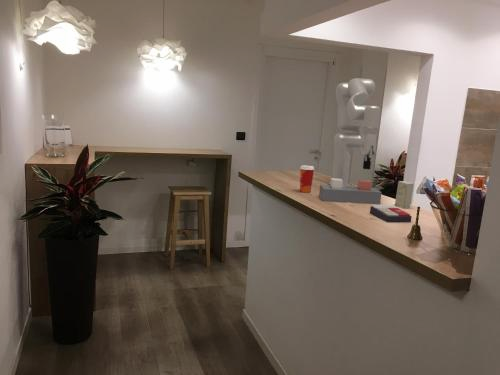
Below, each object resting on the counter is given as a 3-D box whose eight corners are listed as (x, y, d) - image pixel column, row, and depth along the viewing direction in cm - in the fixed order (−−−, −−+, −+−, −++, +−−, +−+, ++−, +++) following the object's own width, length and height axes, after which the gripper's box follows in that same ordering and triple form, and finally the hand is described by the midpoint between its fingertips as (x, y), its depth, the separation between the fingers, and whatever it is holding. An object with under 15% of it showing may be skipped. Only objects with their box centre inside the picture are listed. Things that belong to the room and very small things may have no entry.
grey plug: (329, 191, 211) (330, 178, 210) (339, 192, 211) (340, 178, 210) (331, 193, 206) (332, 179, 205) (341, 194, 206) (342, 180, 205)
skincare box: (394, 205, 203) (397, 181, 200) (401, 205, 204) (404, 180, 202) (403, 208, 197) (406, 183, 195) (410, 208, 199) (414, 183, 196)
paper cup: (301, 190, 229) (303, 164, 226) (314, 192, 225) (316, 166, 223) (295, 192, 222) (297, 166, 220) (308, 194, 218) (311, 167, 216)
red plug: (357, 193, 211) (358, 179, 210) (366, 193, 211) (368, 180, 210) (359, 195, 206) (361, 181, 205) (369, 195, 206) (371, 182, 205)
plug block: (319, 196, 215) (320, 184, 214) (372, 199, 215) (374, 187, 214) (323, 201, 203) (324, 189, 202) (380, 204, 203) (381, 192, 202)
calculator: (388, 214, 169) (370, 204, 183) (386, 224, 170) (369, 213, 184) (412, 214, 171) (393, 204, 185) (410, 224, 172) (391, 213, 186)
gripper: (358, 130, 210) (355, 166, 213) (366, 131, 195) (363, 170, 198) (373, 131, 210) (369, 167, 213) (382, 132, 195) (378, 171, 198)
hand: (366, 168), depth 206 cm, fingers closed
